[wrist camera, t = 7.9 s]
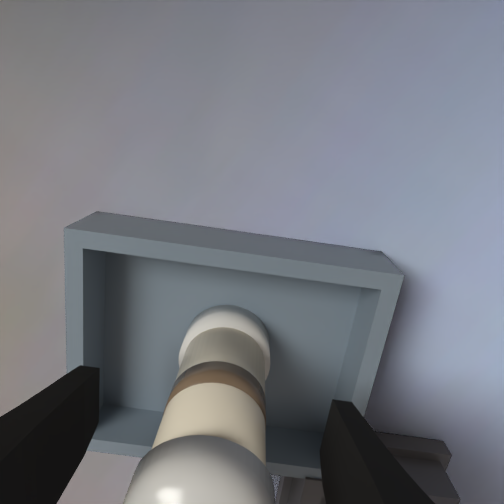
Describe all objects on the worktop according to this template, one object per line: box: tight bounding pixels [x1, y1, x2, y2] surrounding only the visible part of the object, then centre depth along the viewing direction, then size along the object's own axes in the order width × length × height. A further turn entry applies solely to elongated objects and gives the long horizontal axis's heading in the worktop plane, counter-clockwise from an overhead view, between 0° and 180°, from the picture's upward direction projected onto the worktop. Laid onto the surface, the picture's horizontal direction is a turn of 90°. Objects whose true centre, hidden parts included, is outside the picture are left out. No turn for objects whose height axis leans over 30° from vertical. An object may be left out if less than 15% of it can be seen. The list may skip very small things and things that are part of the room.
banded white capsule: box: [123, 305, 275, 504], centre depth 11 cm, size 3×3×8 cm
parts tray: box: [64, 211, 404, 479], centre depth 15 cm, size 11×9×2 cm
